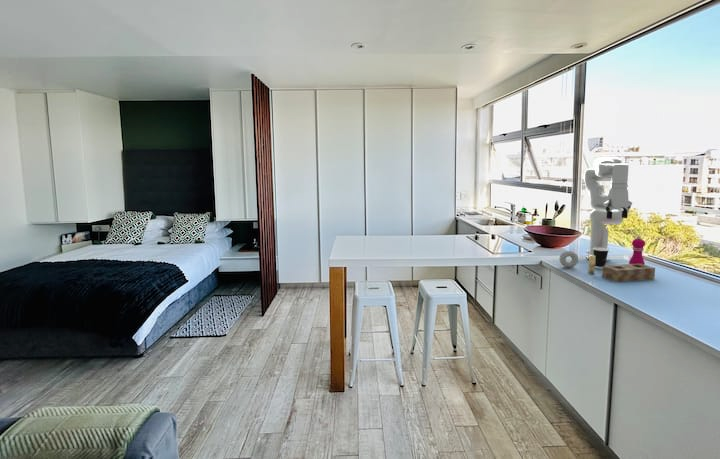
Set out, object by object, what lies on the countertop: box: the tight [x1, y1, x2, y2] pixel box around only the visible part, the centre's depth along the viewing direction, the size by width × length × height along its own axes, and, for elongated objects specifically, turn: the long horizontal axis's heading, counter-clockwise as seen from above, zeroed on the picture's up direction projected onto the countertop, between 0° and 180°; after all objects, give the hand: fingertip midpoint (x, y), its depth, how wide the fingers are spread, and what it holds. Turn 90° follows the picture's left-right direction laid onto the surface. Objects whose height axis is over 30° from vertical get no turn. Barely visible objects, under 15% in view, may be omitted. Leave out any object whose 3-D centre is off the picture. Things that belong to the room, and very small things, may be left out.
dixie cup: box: [593, 247, 609, 270], centre depth 240 cm, size 8×8×11 cm
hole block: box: [601, 263, 656, 283], centre depth 218 cm, size 22×10×6 cm, turn 99°
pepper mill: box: [628, 235, 646, 265], centre depth 229 cm, size 7×7×20 cm
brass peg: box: [587, 255, 596, 275], centre depth 228 cm, size 3×3×10 cm
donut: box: [559, 250, 579, 268], centre depth 241 cm, size 10×4×10 cm, turn 76°
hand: (616, 218), depth 227 cm, fingers open, 9 cm apart
